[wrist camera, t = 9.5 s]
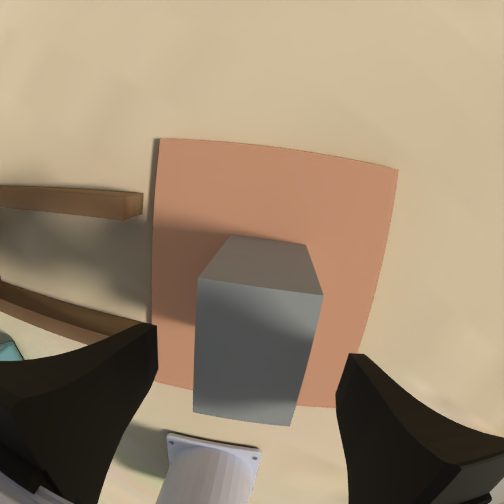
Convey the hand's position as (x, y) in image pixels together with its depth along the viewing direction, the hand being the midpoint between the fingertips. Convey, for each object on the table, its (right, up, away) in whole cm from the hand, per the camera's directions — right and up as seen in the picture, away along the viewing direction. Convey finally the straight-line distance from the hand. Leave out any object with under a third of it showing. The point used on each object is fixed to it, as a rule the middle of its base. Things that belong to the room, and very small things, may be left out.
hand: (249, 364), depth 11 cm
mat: (+1, +2, +7) cm, 7 cm away
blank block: (+1, +2, +6) cm, 7 cm away
